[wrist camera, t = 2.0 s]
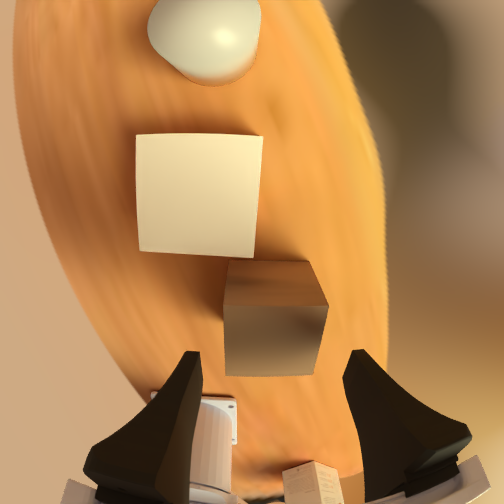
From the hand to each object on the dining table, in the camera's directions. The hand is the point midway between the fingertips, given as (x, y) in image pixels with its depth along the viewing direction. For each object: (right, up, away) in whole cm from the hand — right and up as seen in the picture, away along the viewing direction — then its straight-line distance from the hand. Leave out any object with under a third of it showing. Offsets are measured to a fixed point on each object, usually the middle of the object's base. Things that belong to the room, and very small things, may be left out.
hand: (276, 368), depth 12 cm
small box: (+8, -28, +20) cm, 35 cm away
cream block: (-4, +9, +3) cm, 11 cm away
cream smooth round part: (-3, +16, 0) cm, 17 cm away
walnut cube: (0, +3, +6) cm, 7 cm away
